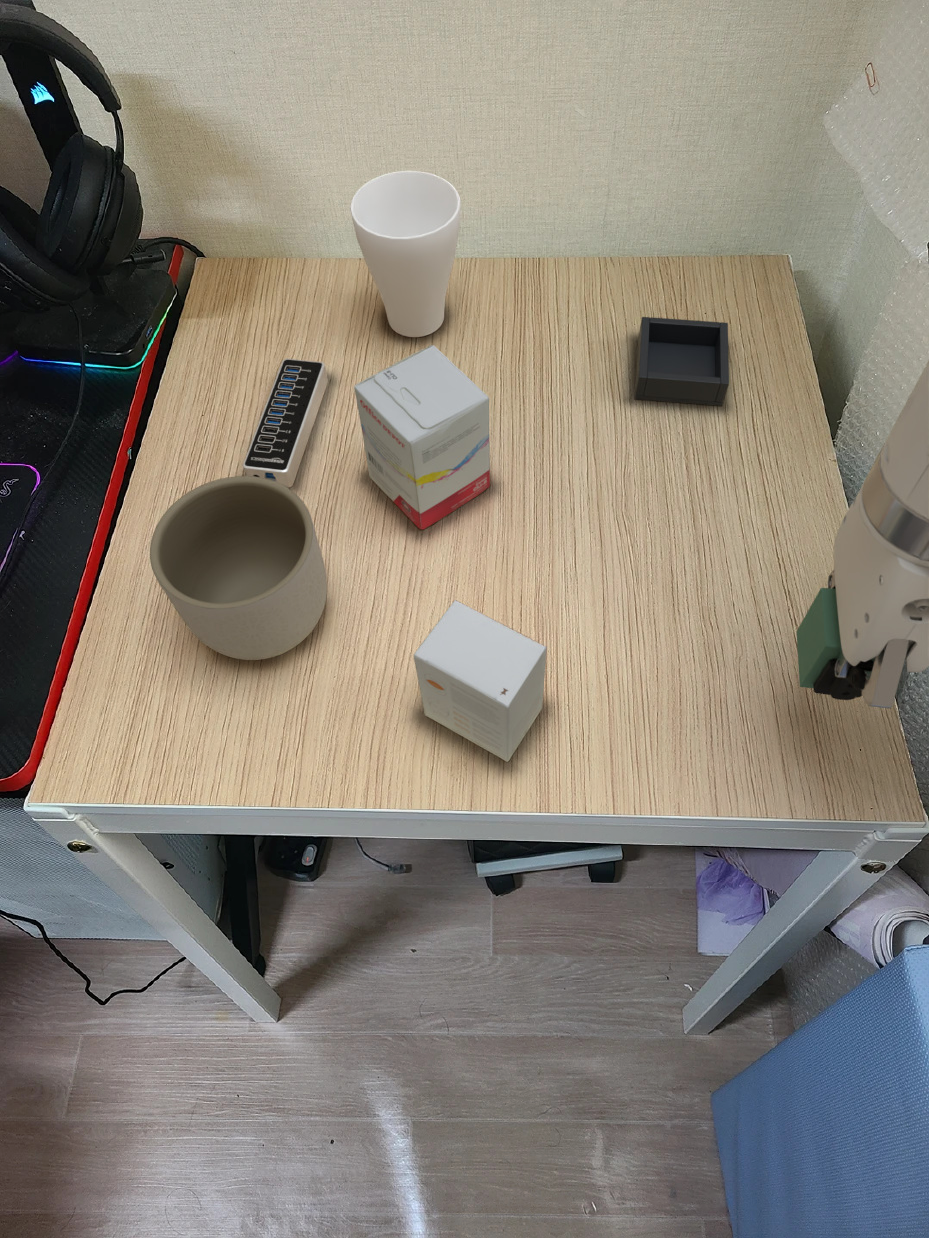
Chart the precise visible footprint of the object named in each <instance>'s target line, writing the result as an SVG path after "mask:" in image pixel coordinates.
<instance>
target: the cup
mask: <svg viewBox="0 0 929 1238" xmlns="http://www.w3.org/2000/svg"><path fill="white" fill-rule="evenodd" d="M461 207H462V200H461V197H460V194H459V191H458V190H457V189H456V188H455V186H454V185H453V184H452V183H451V182H449V181H448V180H446V179H445V178H443V177H441V176H439V175H437V174H434V173H431V172H426V171H420V170H399V171H393V172H388V173H385V174H381V175H378V176H376V177H374V178H372V179H370V180H368V181H367V182H365V183H364V184H363V185H362V186H361V187H359V188H358V189H357V190H356V191H355V194H354V195H353V196H352V198H351V201H350V206H349V210H350V211H349V212H350V215H351V219H352V224H353V228H354V232H355V236H356V240H357V243H358V246H359V249H360V251H361V254H362V256H363V259H364V261H365V262H364V263H365V264H366V266H367V269H368V271H369V273H370V275H371V277H372V279H373V282H374V283H375V285H376V288H377V290H378V293H379V295H380V298H381V300H382V303H383V306H384V309H385V313H386V317H387V320H388V321H387V322H388V325H389V327H390V328H391V330H393V331H394V332H395V333H397V334H399V335H401V336H403V337H407V338H419V337H420V338H421V337H425V336H428V335H431V334H433V333H434V332H436V331H438V329H440V328H441V326H442V325H443V322H444V320H445V306H446V296H447V290H448V287H449V286H448V285H449V281H450V276H451V273H452V269H453V266H454V263H455V257H456V252H457V246H458V245H457V244H458V241H459V233H460V226H461V209H462V208H461Z"/></svg>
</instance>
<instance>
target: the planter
mask: <svg viewBox="0 0 929 1238" xmlns="http://www.w3.org/2000/svg"><path fill="white" fill-rule="evenodd" d="M151 536H152V537H151V541H150V545H149V562H150V566H151V570H152V573H153V575H154V577H155V578H156V581H157V582H158V584H159V586H160V587H161V589H162V591H163V592H164V594H165V595H166V596H167V598H168V599H169V601H170V602H171V604H172V606H173V607H174V609H175V610H176V612H177V614H178V615H179V617H180V618H181V620H182V621H183V623H184V624H185V625H186V626H187V628H188V629H189V630H190V632H191V633H192V634H193V635H194V636H195V637H196V638H197V639H198V640H199V641H200V642H202V644H204V645H205V646H206V647H208V648H209V649H211V650H213V651H214V652H217V653H219V654H221V655H223V656H226V657H229V658H233V659H236V660H243V661H257V660H258V661H259V660H267V659H271V658H275V657H278V656H280V655H282V654H284V653H287V652H289V651H290V650H292V649H294V648H295V647H297V646H298V645H300V644H301V643H302V642H303V641H304V640H305V639H306V638H307V637H308V636H309V635H310V634H311V633H312V632H313V630H314V629H315V628H316V626H317V624H318V623H319V621H320V619H321V617H322V614H323V612H324V609H325V605H326V601H327V595H328V581H327V571H326V567H325V562H324V558H323V554H322V550H321V547H320V543H319V539H318V536H317V532H316V529H315V525H314V521H313V518H312V515H311V513H310V510H309V509H308V507H307V505H306V504H305V502H304V501H303V500H302V498H300V497H299V495H298V494H297V493H295V492H294V491H293V490H292V489H290V487H289V488H287V487H286V486H284V485H282V484H280V483H278V482H275V481H272V480H269V479H265V478H261V477H254V476H247V475H237V476H235V475H234V476H228V477H222V478H217V479H215V480H211V481H209V482H206V483H203V484H201V485H199V486H197V487H195V488H193V489H191V490H190V491H188V492H186V493H184V494H183V495H182V496H181V497H179V498H178V499H177V500H176V501H175V502H173V503H172V505H170V507H168V509H166V511H165V512H164V514H162V515H161V518H160V519H159V521H158V522H157V524H156V526H155V529H154V531H153V533H152V535H151Z"/></svg>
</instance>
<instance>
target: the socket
mask: <svg viewBox="0 0 929 1238" xmlns="http://www.w3.org/2000/svg"><path fill="white" fill-rule="evenodd" d="M636 350H637V351H636V364H635V365H636V366H635V386H634V400H639V401H640V400H642V401H651V402H653V401H654V402H667V403H680V404H690V405H691V404H692V405H705V406H715V407H716V406H717V407H722V406H723V405H724V402H725V398H726V394H727V392H728V389H729V385H730V366H729V364H730V362H729V361H730V359H729V358H730V357H729V323H728V322H723V321H721V322H720V321H708V320H695V319H694V320H693V319H680V318H679V319H678V318H667V317H649V316H641V321H640V325H639V332H638V336H637V348H636Z"/></svg>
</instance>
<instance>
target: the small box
mask: <svg viewBox="0 0 929 1238" xmlns="http://www.w3.org/2000/svg"><path fill="white" fill-rule="evenodd" d="M413 660H414V664H415V665H414V666H415V670H416V671H415V672H416V676H417V677H416V678H417V681H418V688H419V692H420V698H421V701H422V707H423V713H424V715H425V717H427V718H429V719H431V720H433V721H435V722H436V723H438V724H440V725H442V726H443V727H445V728H447V729H448V730H449V731H452V732H454V733H456V734H457V735H459V736H461V737H462V738H464V739H466V740H467V741H469V742H471V743H473V744H475V745H476V746H478V747H480V748H482V749H484V750H485V751H488V752H489V753H491V754H492V755H494V756H496V757H498V758H500V759H501V760H503V761H505V762H506V763H507V762H509V761H510V759H511V758H512V756H513V755H514V753H515V752H516V750H517V749H518V747H519V746H520V744H521V743H522V741H523V739H524V738H525V736H526V734H527V733H528V732H529V730H530V728H531V727H532V726H533V724H534V722H535V721H536V719H537V717H538V716H539V714H540V712H542V709H543V704H544V703H543V702H544V688H545V677H546V665H547V646H546V645H545V644H542V643H540V642H538V641H536V640H534V639H532V638H530V637H528V636H527V635H525V634H523V633H520V632H519V631H517V630H515V629H513V628H512V627H509V626H507V625H505V624H503V623H501V622H499V621H497V620H495V619H494V618H492V617H490V616H488V615H486V614H484V613H482V612H480V611H478V610H476V609H474V608H472V607H471V606H468V605H466V604H464V603H462V602H461V601H459V600H458V599H454V601H452V603H451V604H450V605H449V607H448V608H447V609H446V611H445V612H444V613H443V614H442V616H441V617H440V619H439V620H438V621H437V623H436V624H435V626H433V628H432V629H431V630H430V632H429V633H428V635H427V636H426V637H425V638H424V640H423V641H422V642H421V644H420V645H419V647H418V648H417V649H416V651H415V652H414V653H413Z"/></svg>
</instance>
